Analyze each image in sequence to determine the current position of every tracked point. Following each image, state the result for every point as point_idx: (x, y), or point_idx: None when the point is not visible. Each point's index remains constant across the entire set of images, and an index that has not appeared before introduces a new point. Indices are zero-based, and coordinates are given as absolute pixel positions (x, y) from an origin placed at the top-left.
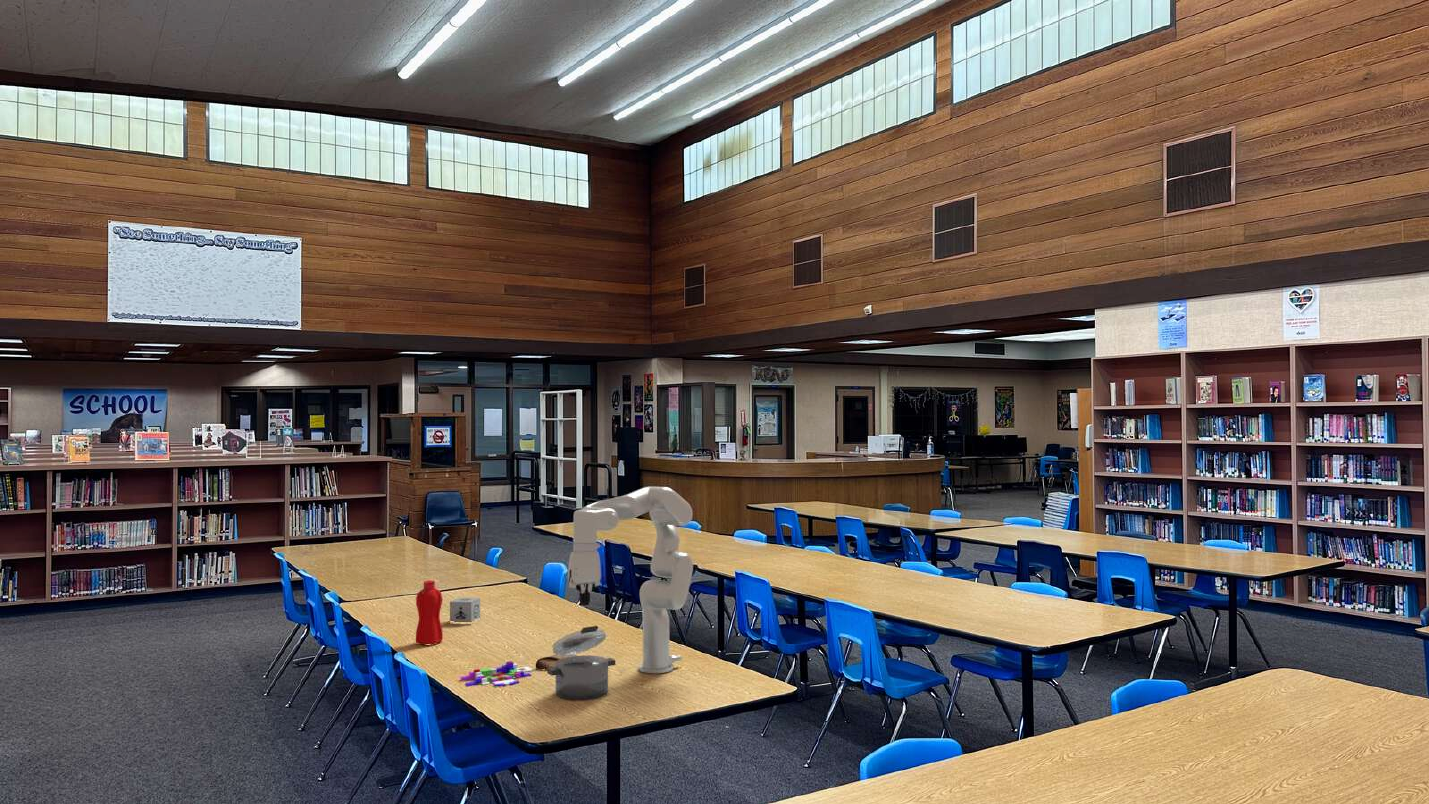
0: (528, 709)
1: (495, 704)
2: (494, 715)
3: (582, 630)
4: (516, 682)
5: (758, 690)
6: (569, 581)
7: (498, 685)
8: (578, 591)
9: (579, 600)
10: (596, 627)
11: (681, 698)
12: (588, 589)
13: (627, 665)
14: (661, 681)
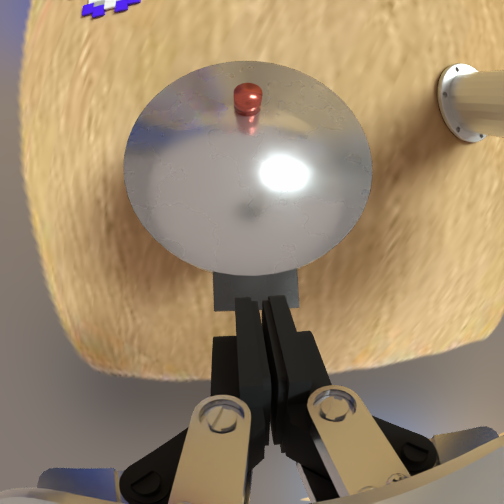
0: (91, 215)
1: (44, 147)
2: (34, 219)
3: (214, 293)
4: (132, 2)
5: (477, 321)
6: (17, 499)
7: (89, 13)
8: (199, 410)
9: (213, 341)
10: (289, 307)
11: (390, 308)
12: (302, 478)
13: (433, 30)
14: (433, 187)
